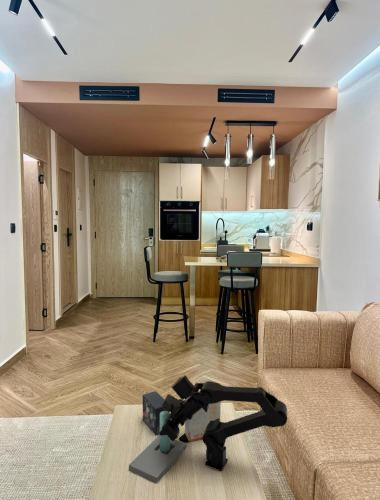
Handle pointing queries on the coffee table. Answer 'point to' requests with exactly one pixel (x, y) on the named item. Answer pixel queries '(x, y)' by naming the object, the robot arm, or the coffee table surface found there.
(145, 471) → the socket plate
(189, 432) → the cracker box
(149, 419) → the small box
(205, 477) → the coffee table surface
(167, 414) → the peg
